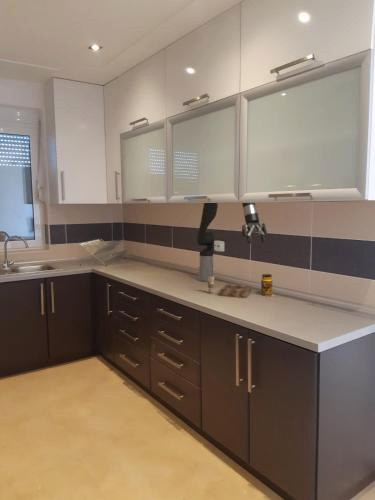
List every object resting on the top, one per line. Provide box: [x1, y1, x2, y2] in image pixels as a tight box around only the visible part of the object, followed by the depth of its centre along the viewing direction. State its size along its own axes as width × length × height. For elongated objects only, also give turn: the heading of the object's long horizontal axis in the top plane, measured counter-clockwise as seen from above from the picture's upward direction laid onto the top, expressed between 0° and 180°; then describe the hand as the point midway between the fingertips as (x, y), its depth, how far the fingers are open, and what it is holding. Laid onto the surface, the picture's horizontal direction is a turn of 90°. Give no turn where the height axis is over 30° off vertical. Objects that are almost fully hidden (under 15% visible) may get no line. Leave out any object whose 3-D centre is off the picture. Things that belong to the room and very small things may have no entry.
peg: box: [207, 275, 215, 295], centre depth 228 cm, size 4×4×10 cm
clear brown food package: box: [219, 284, 253, 299], centre depth 225 cm, size 15×14×4 cm
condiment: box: [258, 273, 276, 298], centre depth 223 cm, size 7×8×12 cm
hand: (256, 242), depth 215 cm, fingers open, 8 cm apart
